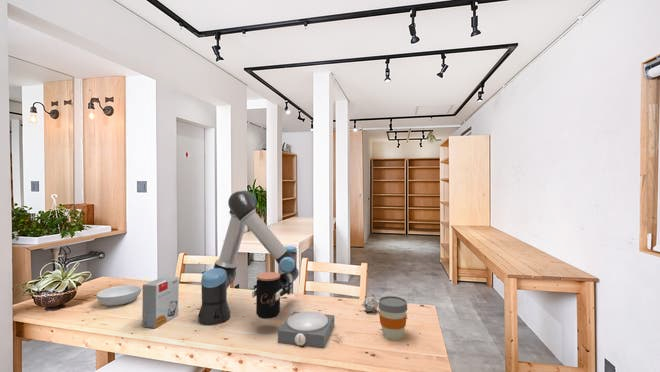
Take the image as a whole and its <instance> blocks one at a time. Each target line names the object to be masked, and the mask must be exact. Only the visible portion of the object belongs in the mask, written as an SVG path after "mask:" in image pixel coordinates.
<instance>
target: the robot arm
mask: <svg viewBox="0 0 660 372" xmlns="http://www.w3.org/2000/svg"><path fill="white" fill-rule="evenodd" d="M227 201H228V207H229V212H228V213H229V215H230V220H229V223H228V227H227V231H226V234H225V237H224V240H223V245H222V247H221V251H220V255H219V258H218V259H217V260H215V262H214V265H213V268H211V269H208V270H205V271H204V272H203V273H202V275H201V280H200V283H201V306H200V309H199V312H198V315H197V322H198V323H199V324H200V325H204V326H211V325H212V326H213V325H218V324H219V325H220V324H222V323H224V322H227V321H229V320H230V318H231V309H230V308H229V304H228V301H227V300H228V299H227V295H228V293H227V291H228V290H227V289H228V288H229V287H230V286H231V284H233V283H234V281H235V279H236V276H237V268H238V265H237V262H236V261H237V257H238V254H239V250H240V247H241V242H242V240H243V235H244V232H245V230H246V229H245V228H246V227H247V228H248V230H249V231H251V233H252V234H253V235H254V236H255V238H257V240H258V241H259V242H260V244H261V245H262V246H263V247H264V248H265V250H266V251H267V252H268V253H269V254H270V256H272V258H273V259H274V260H275V261H276V263H277V264H278V266H279V269H280V270H281V273H279V274H280V278H279V279H280V290H279V291H278V292H277V293H276V300H278V299H279V298H280V299H281V297H283V296H285V295H288V296H289V295H291V289H292V284H293V282H294V281H296V280H297V278H298V277H299V274H300V272H299V269H298V267H297V265H298V264H297V260H298V259H297V257H298V250H297V249H298V248H297V247H296V246H294V245H285V246H284V245H283V243H282V242H281V241H280V240H279V239H278V237H277V236H276V235H275V233H274V232H273V231H272V230H271V229H270V228H269V226H267V224H266V223H265V221H264V220H263V219H262V218H261V217H260V216H259V214H258V213H257V212H256V211H257V210H256V206H257V198H256V195H254V193H253V192H251V191H248V190H238V191H235V192H233V193H231V195H230V196H229V198H228V200H227ZM256 293H257V284H255V285H253V290H252V291H251V298H255V297H256Z"/></svg>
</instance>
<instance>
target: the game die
mask: <svg viewBox="0 0 660 372" xmlns="http://www.w3.org/2000/svg"><path fill="white" fill-rule="evenodd" d="M364 297H365V298H364V301H363V303H362V304H361V306H363V307H364V309H365V310H366V313H367V314H368V313H369V312H377V308H378V305H379V301H377V299H376V298H375V294H373V295H372V296H364Z"/></svg>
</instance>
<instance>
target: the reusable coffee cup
mask: <svg viewBox="0 0 660 372" xmlns="http://www.w3.org/2000/svg"><path fill="white" fill-rule="evenodd" d="M377 308H378V309H379V312H378V316H379V322H380V323H379V324H380V325H381V332H382V336H383V338H385V339H386V340H390V341H400V340H402V339H403V338H404V332H405V327H406V325H407V318H408V314H407V311H408V302H407V300H406V299H405V298H402V297H400V296H395V295H387V296H382V297H380V298H379V299H378V306H377Z"/></svg>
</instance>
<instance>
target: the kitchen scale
mask: <svg viewBox="0 0 660 372" xmlns="http://www.w3.org/2000/svg"><path fill="white" fill-rule="evenodd" d="M334 328H335V315H334V314H326V313H325V314H324V313H321V312H318V311H293V312H292V313H291V314H290V316H289V317H288V318H287V319H286V320H285V322H284V323H283V324H282V325H281V326H280V328H279V329H278V330H277V343H281V344H287V345H295V346H297V345H298V346H305V347H312V348H320V349H321V348H322V349H324V348H325V347H326V345H327V342H329V341H328V340H329V338H330V336H331V334H332V332H333V329H334Z"/></svg>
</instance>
